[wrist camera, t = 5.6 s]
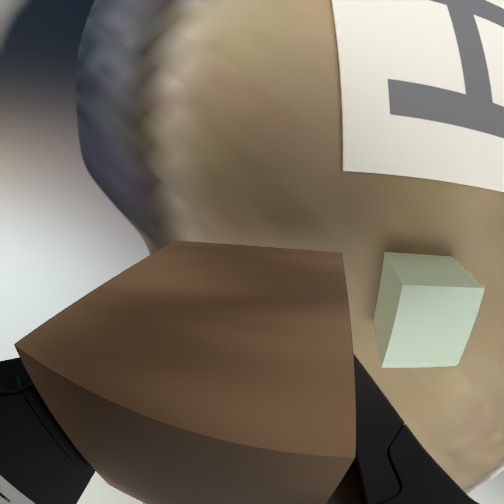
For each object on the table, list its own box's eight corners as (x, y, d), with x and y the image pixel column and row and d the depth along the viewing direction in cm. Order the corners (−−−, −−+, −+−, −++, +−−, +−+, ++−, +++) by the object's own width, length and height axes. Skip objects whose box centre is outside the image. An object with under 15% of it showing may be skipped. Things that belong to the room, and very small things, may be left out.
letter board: (522, 1, 6) (526, -2, 5) (554, 204, 12) (561, 207, 11) (320, -55, 11) (319, -62, 10) (342, 170, 17) (343, 170, 16)
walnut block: (341, 252, 7) (355, 456, 2) (321, 385, 9) (294, 542, 4) (174, 240, 9) (14, 344, 3) (190, 364, 10) (108, 484, 5)
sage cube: (452, 256, 16) (485, 288, 11) (435, 322, 18) (457, 365, 13) (384, 251, 18) (402, 284, 13) (372, 320, 20) (381, 367, 14)
